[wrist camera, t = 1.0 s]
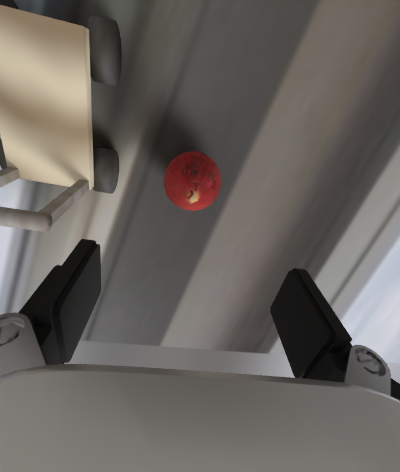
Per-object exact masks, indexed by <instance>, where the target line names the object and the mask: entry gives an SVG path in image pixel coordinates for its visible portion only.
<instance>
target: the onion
mask: <svg viewBox="0 0 400 472" xmlns="http://www.w3.org/2000/svg"><path fill="white" fill-rule="evenodd" d="M164 186H165V190H166V194H167V196H168V197H169V199H170V200H171V201H172V202H173V203H174V204H175V205H177V206H179V207H180V208H182V209H185V210H191V211H194V210H200V209H203V208H205V207H207V206H209V205H210V204H212V202H213V201H214V200H215V199H216V197H217V196H218V194H219V190H220V186H221V177H220V171H219V169H218V167H217V165H216V163H215V162H214V161H213V160H212V159H211V158H209V157H208V156H207V155H206V154H204V153H201V152H196V151H189V152H185V153H181V154H179V155H178V156H177V157H176V158H174V159H173V160H172V161H171V162H170V164H169V165H168V167H167V169H166V171H165V178H164Z"/></svg>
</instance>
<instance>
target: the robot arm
mask: <svg viewBox="0 0 400 472" xmlns="http://www.w3.org/2000/svg"><path fill="white" fill-rule="evenodd" d="M100 291H101V262H100V245H99V244H96V241H93V240H86V239H81V240H80V242H79V243H78V244H77V246H76V247H75V248H74V250H73V251H72V253H71V254H70V255H69V257H68V258H67V259H66V261H65V262H64V263H63V265H62V266H60V265H57V266H55V267H54V268H53V269H52V270H51V272H50V273H49V274H48V275H47V277H46V278H45V279H44V281H43V282H42V283H41V284H40V286H39V287H38V288H37V290H36V291H35V292H34V293H33V295H32V296H31V297H30V299H29V300H28V301H27V302H26V304H25V305H24V306H23V308H22V309H21V310H20V311H19V313H6V314H2V315H0V472H400V384H399V383H397V382H396V381H394V380H393V379H392V378H391V374H390V370H389V368H388V366H387V364H386V363H385V361H384V360H383V359H382V358H381V357H380V356H379V355H378V354H377V353H375V352H374V351H372V350H371V349H369V348H367V347H365V346H362V345H354V346H352V345H351V343H350V342H351V340H352V338H351V337H350V335H349V334H348V332H347V331H346V329H345V328H344V326H343V325H342V323H341V322H340V320H339V319H338V317H337V316H336V314H335V313H334V311H333V310H332V308H331V307H330V305H329V304H328V302H327V301H326V299H325V298H324V296H323V295H322V293H321V292H320V290H319V289H318V287H317V286H316V284H315V282H314V281H313V279H312V278H311V276H310V275H309V273H308V272H307V271H306V270H303V269H296V268H294V269H292V271H289V272H288V274H287V276H286V278H285V280H284V282H283V284H282V286H281V288H280V290H279V292H278V294H277V296H276V298H275V300H274V302H273V304H272V306H271V315H272V318H273V320H274V323H275V326H276V329H277V331H278V334H279V337H280V339H281V342H282V345H283V347H284V350H285V353H286V355H287V358H288V361H289V363H290V366H291V369H292V372H293V374H294V376H295V378H287V377H273V376H261V375H247V374H234V373H220V372H206V371H191V370H176V369H161V368H145V367H130V366H111V365H89V364H88V365H87V364H64V362H69V361H70V360H71V358H72V355H73V353H74V351H75V349H76V346H77V344H78V342H79V340H80V338H81V335H82V333H83V331H84V329H85V326H86V324H87V322H88V320H89V317H90V315H91V313H92V311H93V308H94V306H95V304H96V302H97V299H98V297H99V295H100Z"/></svg>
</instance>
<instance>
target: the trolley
mask: <svg viewBox="0 0 400 472" xmlns="http://www.w3.org/2000/svg"><path fill="white" fill-rule="evenodd" d="M121 57H122V54H121V38H120V32H119V28H118V25H117V22H116V21H115V20H111V19H107V18H103V17H100V16H96V15H90V17H89V18H88V21H87V25H86V27H84V26H81V25H77V24H73V23H69V22H65V21H61V20H57V19H53V18H50V17H46V16H42V15H38V14H34V13H30V12H26V11H22V10H19V9H18V7H17V5H16V4H15V2H14V1H13V0H0V135H1V139H0V166H1V168H2V170H0V187H2V186H4V185H6V184H8V183H10V182H12V181H14V180H16V179H18V178H20V179H26V180H32V181H38V182H44V183H50V184H57V185H63V186H69V188H68V189H67V190H66V191H64V192H63V193H62V194H60V195H59V196H58V197H57V198H55V199H54V200H53V201H52V202H50V203H49V204H48V205H46V206H45V207H44V208H43V209H41V210H40V211H39V212H32V211H25V210H19V209H12V208H5V207H0V226H6V227H13V228H21V229H28V230H35V231H42V232H48V231H49V230H50V228H51V226H52V224H53V223H54V222H55V221H56V220H57V219H59V218H60V217H61V216H62V215H63V214H64V213H65V212H66V211H67V210H68V209H69V208H70V207H71V206H72V205H73V204H74V203H75V202H76V201H77V200H78V199H79V198H80V197H81V196H82V195H83V194H84V193H86V192H87V191H88V190H91V189H92V188H93V189H94V190H95V191H99V192H105V193H111V194H112V193H113V192H114V191H115V188H116V185H117V181H118V175H119V157H118V153H117V151H115V150H109V149H104V148H97V149H96V150H95V152H94V154H93V139H92V109H91V78H90V75H91V77H92V79H93V80H94V81H95V82H99V83H104V84H108V85H112V86H116V85H117V84H118V81H119V78H120V72H121Z"/></svg>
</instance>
